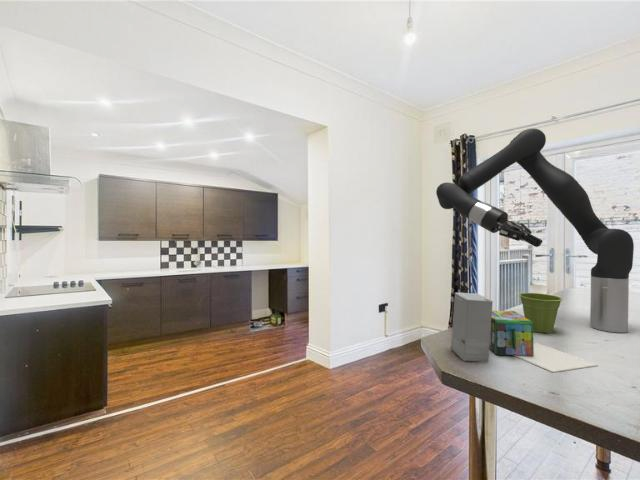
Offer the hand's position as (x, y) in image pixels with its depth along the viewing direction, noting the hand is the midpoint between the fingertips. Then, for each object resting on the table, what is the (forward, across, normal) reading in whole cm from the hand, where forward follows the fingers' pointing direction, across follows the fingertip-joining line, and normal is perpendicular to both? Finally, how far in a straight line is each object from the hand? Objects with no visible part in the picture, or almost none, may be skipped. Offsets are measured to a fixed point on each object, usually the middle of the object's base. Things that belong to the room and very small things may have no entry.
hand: (540, 244), depth 91 cm
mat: (+19, -15, +20) cm, 32 cm away
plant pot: (+11, +9, +28) cm, 32 cm away
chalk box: (+6, -13, +23) cm, 27 cm away
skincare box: (+9, -30, +25) cm, 40 cm away
